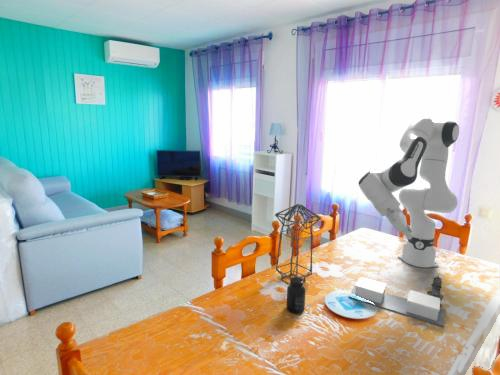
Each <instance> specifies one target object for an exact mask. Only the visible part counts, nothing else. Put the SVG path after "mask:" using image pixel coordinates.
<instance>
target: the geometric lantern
mask: <svg viewBox="0 0 500 375" xmlns="http://www.w3.org/2000/svg"><path fill="white" fill-rule="evenodd" d="M295 214H296V218H295V221H294V220H291V219H292V218H293V217H294V215H295ZM299 214H300V217H301V218H303V220H300V222H298V221H299ZM311 214H312V215H311ZM287 216H288V218H287ZM274 217H276V219H277V220H278V221H279V222H280V223H281V225H282V226H281V229H280V232H279V240H278V249H277V257H276V265H275V271H277V272H278V274H279V275H280V276H281V277H280V280H281V281H282V282H284V283H285V284H287V285H290V282H287V281H286V280H284V279H287V280H290V279H291V278H292V276H294V277H299V278H302V279H303V283H305V282H306V278H307V277H310V276H311V275H312V274H313V241H314V234H313V226H314V225H315V224H317V223H318V222H319V221H321V220H322V219H323V218H322V217H321V216H320V215H319V214H316V213H315V212H314V211H312V210H311V209H309V208H308V207H306V206H304V204H300V203H296V204H295V205H292V206H291V207H288V208H286V209H283V210H281V211H278V212H276V213H275V214H274ZM305 217H306V218H305ZM315 218H316V219H315ZM308 220H309V221H308ZM288 222H289V224H288ZM285 223H286V224H285ZM296 224H299V225H301V226H300V227H299V228H296V227H295V225H296ZM308 225H309V226H308ZM291 226H292V227H293V228H291ZM284 227H287V228H288V229H286V230H284ZM302 227H303V229H302ZM308 229H309V230H310V231H309V232H308V231H305V230H308ZM292 231H294V232H292ZM296 231H298V232H297V236H296ZM285 232H290V234H291V236H289V235H288V234H285ZM302 232H304V233H306V234H309V236H306V237H300V235H301V234H302ZM283 235H284V236H286V237H288V238H290V239H292V246H291V247H292V248H291V255H290V256H291V257H290V262H289V263H286V264H282V265H280V266H279V258H280V251H281V244H282V238H283ZM308 238H310V264H309V265H310V267H309V268H307V267H305V266H303V265H301V264H300V263H299V245H300V244H299V243H300V240H304V239H308ZM296 240H297V241H296ZM295 241H296V260H295V262H293V260H294V259H293V258H294V247H295ZM288 265H290V268H289V270H287V272H282V271H281V270H279V269H278V268H282V267H286V266H288ZM293 265H295V266H294V268H293ZM299 267H301V268H303V269H305V270H307V271H308V272H307V273H306V274H302V273H300V272H298V269H299ZM292 268H293V269H292ZM288 273H289V274H288ZM298 275H301V276H298Z"/></svg>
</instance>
